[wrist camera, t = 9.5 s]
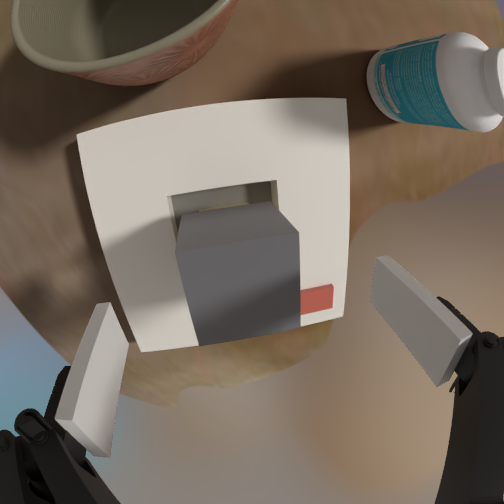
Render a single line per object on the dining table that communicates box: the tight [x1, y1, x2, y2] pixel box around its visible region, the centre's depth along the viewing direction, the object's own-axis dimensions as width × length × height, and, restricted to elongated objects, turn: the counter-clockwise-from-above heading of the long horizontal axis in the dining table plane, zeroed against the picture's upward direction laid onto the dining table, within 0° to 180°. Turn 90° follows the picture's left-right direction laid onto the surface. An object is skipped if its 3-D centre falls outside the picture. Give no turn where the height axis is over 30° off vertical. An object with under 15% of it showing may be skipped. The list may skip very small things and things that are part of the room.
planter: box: [10, 0, 238, 86], centre depth 11 cm, size 12×12×11 cm
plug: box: [175, 201, 301, 346], centre depth 19 cm, size 6×6×10 cm
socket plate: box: [77, 98, 350, 352], centre depth 23 cm, size 20×20×3 cm
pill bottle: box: [367, 32, 504, 132], centre depth 15 cm, size 8×7×14 cm
